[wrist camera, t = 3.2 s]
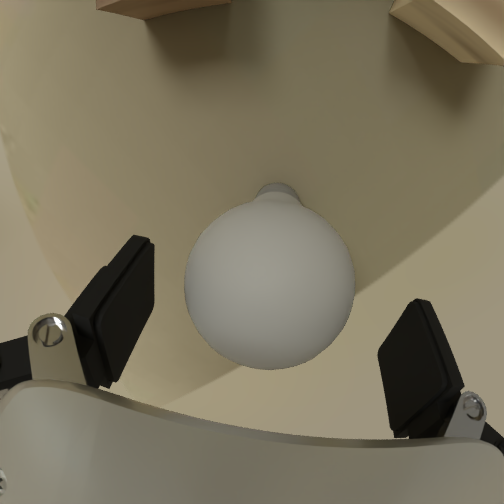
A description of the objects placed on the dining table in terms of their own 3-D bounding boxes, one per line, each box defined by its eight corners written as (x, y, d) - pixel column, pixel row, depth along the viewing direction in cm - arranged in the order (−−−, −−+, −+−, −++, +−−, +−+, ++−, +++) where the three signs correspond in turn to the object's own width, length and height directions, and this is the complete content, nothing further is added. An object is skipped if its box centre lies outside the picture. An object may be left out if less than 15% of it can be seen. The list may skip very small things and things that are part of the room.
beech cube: (413, -44, 8) (451, -71, 4) (482, 5, 9) (531, -2, 5) (388, 13, 11) (425, -5, 7) (460, 62, 11) (511, 66, 7)
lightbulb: (217, 154, 17) (129, 271, 7) (326, 143, 16) (380, 256, 6) (235, 246, 20) (193, 398, 11) (331, 239, 19) (357, 397, 10)
